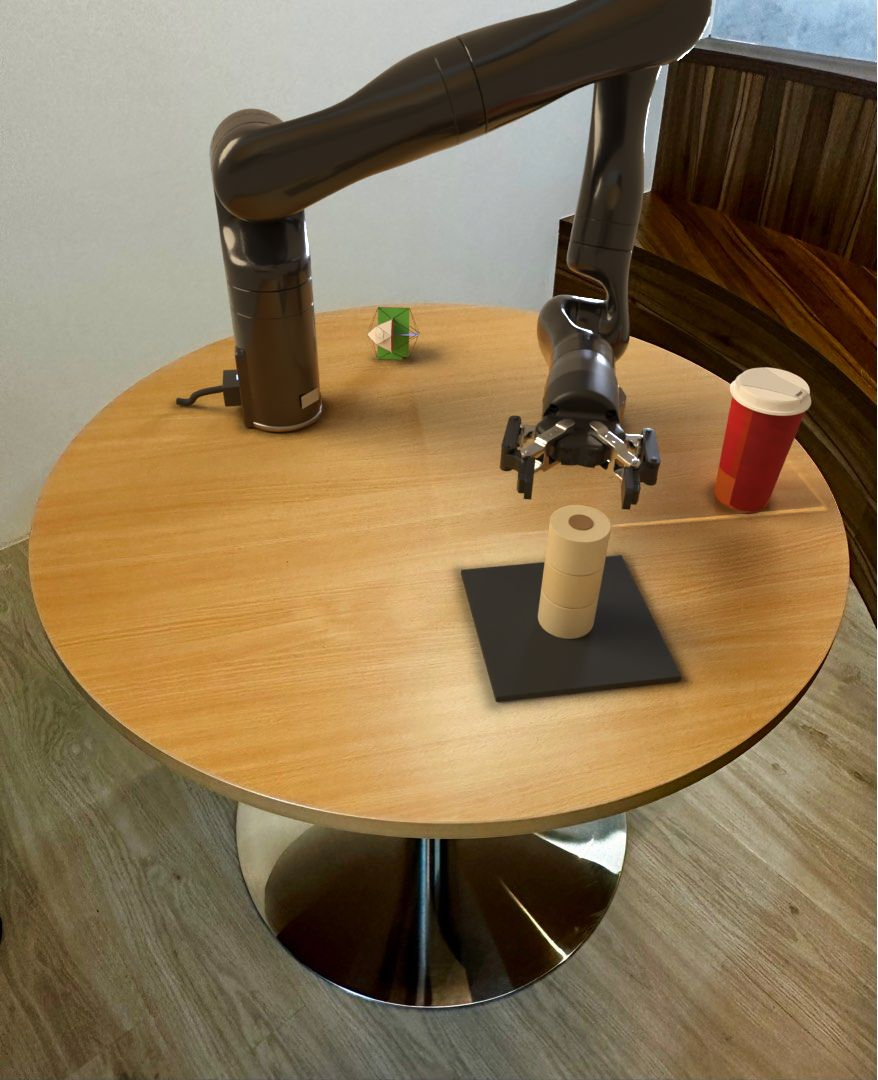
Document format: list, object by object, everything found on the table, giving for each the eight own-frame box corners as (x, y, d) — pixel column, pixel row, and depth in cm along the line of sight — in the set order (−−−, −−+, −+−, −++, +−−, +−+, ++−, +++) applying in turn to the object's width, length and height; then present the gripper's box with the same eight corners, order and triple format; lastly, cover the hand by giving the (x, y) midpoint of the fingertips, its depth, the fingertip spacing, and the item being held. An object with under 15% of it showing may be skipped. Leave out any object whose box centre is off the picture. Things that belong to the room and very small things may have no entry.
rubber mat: (495, 701, 72) (496, 697, 72) (460, 574, 85) (461, 569, 84) (680, 681, 75) (682, 676, 74) (620, 559, 87) (621, 554, 86)
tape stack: (545, 641, 77) (559, 543, 70) (531, 603, 81) (543, 506, 74) (600, 636, 78) (619, 538, 71) (584, 597, 82) (600, 501, 75)
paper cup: (789, 498, 95) (828, 382, 87) (756, 530, 91) (793, 412, 82) (723, 469, 99) (754, 356, 91) (689, 498, 95) (717, 383, 86)
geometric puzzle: (371, 322, 122) (366, 292, 114) (421, 324, 122) (419, 294, 114) (368, 370, 120) (363, 344, 112) (419, 372, 120) (417, 345, 112)
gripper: (512, 362, 87) (498, 452, 74) (659, 374, 86) (669, 468, 73) (507, 427, 92) (492, 522, 79) (646, 440, 90) (654, 539, 78)
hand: (577, 496), depth 76 cm, fingers open, 8 cm apart
